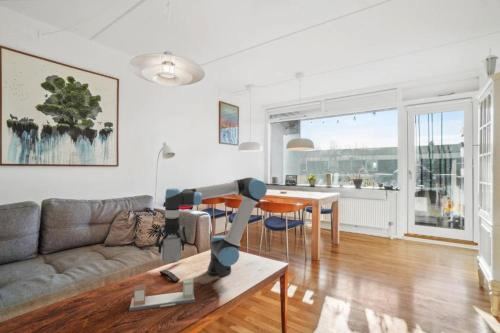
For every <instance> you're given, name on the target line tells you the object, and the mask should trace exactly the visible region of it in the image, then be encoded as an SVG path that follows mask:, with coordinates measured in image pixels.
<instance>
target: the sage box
mask: <svg viewBox="0 0 500 333" xmlns="http://www.w3.org/2000/svg"><path fill="white" fill-rule="evenodd" d="M194 286H195V285H194V278H188V279H187V278H186V279H183V280H182V292H183V299H188V298H193V294H194Z"/></svg>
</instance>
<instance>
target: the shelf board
mask: <svg viewBox="0 0 500 333" xmlns="http://www.w3.org/2000/svg"><path fill="white" fill-rule="evenodd" d="M189 303H190V304H191V303H196V299H195V295H194V293H193V298H188V299H183V291H180V292H172V293H171V292H170V293H164V294H163V293H162V294H154V295H149V296H146V299H145V304H143V305H136V306H134V297H132V298H131V301H130V306H129V307H128V312H133V311H134V312H135V311H142V310H147V309H148V310H149V309H157V308H163V307H172V306H176V305H184V304H189Z"/></svg>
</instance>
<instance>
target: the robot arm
mask: <svg viewBox="0 0 500 333" xmlns="http://www.w3.org/2000/svg"><path fill="white" fill-rule="evenodd" d="M267 192H268V187H267V185H266V183H265V181H263V180H262V179H260V178H256V177H255V178H253V177H244V178H240V179H235V180H233V182H226V183H220V184H214V185H207V186H202V187H195V188H184V189H182V190H181V189H180V188H175V187H174V188H167V189H166V190H165V196H164V198H165V199H164V200H165V202H164V204H165V206H164V226H162V227H158V234H157V236H156V240H155V244H154V247H156V248H158V254H159V255H160V257H159V258H160V261H162V258H163V247H162V245H163V239H166V238H167V236H168V235H177V237H178V238H180V237H181V235H180V234H179V232H178V231H179V230H180V231H181V233H182V237H181V238H180V258H182V257H183V251H185V245H187V244H188V239H187V235H186V234H187V233H186V231H185V229H186V227H185V226H184V225H180V207H186V206H200V205H201V204H202V202H203V201H202V200H206V199H212V198H218V197H224V196H230V195H236V196H239V195H241V198H242V199H241V201H240V204H239V206H238V208H237V211H236V213H235V215H234V217H233V220H232V223H231V225H230V227H229V229H228V232H227V234H224V235H222V234H221V235H213V236H212V237H211V239H210V261H209V264H208V266H207V274H208V275H210V276H212V277H219V278H221V277H225V276H229V275H230V274H232V266H233V265H235V264H236V263H237V262H238V261H239V258H240V252H239V251H240V248H241V246H242V245H241V242H240V241H241V239H242V236H243V235H244V232H245V230H246V227H247V225H248V223H249V220H250V217H251V216H252V213H253V211H254V208H255V207H256V205H258V204H259V203H260V201H261V199H263V198H264V197H265V196H266V195H267ZM164 231H165V232H164ZM162 232H164V234H163V237H161V236H162ZM162 238H163V239H162ZM182 238H183V239H182Z"/></svg>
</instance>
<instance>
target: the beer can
mask: <svg viewBox="0 0 500 333" xmlns="http://www.w3.org/2000/svg"><path fill="white" fill-rule="evenodd" d="M180 238H181V239H182V237H181V236H180ZM180 238H178V237H177V235H176V234H171V235H168V236H167V238H166V239H163V237H161V240H162V239H163V245H162V247H163V258H162V260H161V262H163V263H164V264H175V263H178V262H180V260H181V257H180V244H181V242H180Z"/></svg>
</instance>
